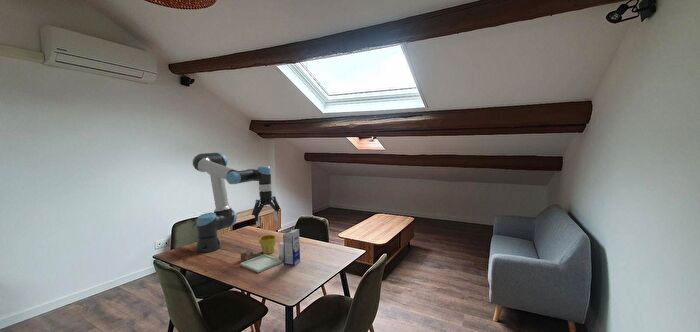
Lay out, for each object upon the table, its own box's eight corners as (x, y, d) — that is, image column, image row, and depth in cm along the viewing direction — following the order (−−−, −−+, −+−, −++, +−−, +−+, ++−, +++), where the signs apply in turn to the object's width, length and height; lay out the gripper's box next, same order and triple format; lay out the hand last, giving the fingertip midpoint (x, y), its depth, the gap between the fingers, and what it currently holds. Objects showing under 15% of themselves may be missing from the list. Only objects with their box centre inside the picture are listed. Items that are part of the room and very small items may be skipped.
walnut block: (240, 260, 175) (240, 252, 175) (246, 257, 180) (246, 249, 180) (247, 261, 174) (247, 253, 173) (253, 258, 178) (252, 250, 178)
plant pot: (271, 255, 182) (271, 240, 181) (256, 254, 184) (256, 239, 183) (279, 249, 192) (278, 235, 191) (264, 248, 194) (264, 234, 193)
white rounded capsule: (276, 258, 178) (275, 243, 177) (285, 254, 184) (284, 240, 183) (284, 260, 174) (283, 246, 173) (292, 256, 179) (292, 242, 179)
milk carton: (294, 266, 166) (292, 232, 164) (283, 264, 168) (282, 231, 166) (300, 261, 172) (299, 228, 171) (290, 260, 175) (289, 227, 173)
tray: (240, 265, 168) (240, 263, 168) (264, 256, 181) (264, 253, 181) (258, 272, 158) (258, 270, 158) (282, 262, 172) (282, 259, 171)
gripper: (252, 194, 172) (254, 229, 174) (284, 188, 192) (286, 219, 194) (244, 193, 177) (246, 227, 179) (277, 187, 197) (278, 218, 199)
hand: (267, 223), depth 186 cm, fingers open, 13 cm apart
